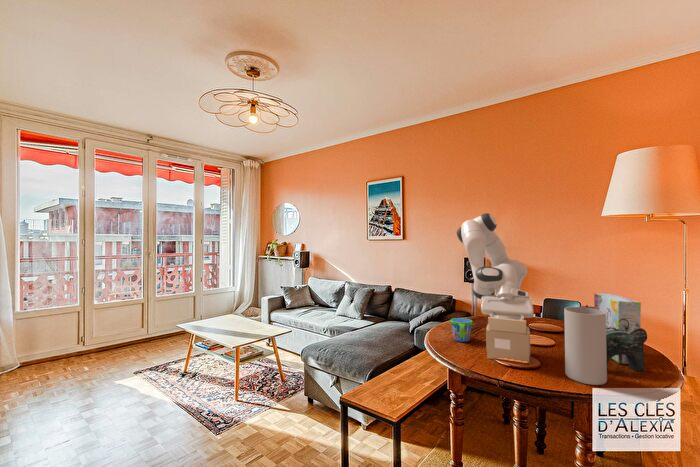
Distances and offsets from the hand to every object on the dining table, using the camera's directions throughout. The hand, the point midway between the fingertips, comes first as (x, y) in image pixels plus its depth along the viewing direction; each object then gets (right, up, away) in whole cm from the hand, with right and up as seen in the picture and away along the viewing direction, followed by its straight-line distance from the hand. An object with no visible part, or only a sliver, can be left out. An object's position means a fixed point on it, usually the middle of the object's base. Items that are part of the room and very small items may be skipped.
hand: (506, 324), depth 137 cm
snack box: (+51, -16, +7) cm, 54 cm away
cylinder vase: (+22, -16, -15) cm, 31 cm away
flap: (0, 0, 0) cm, 1 cm away
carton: (+5, -16, +9) cm, 19 cm away
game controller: (+40, -16, -8) cm, 44 cm away
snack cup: (-8, -17, +31) cm, 36 cm away
